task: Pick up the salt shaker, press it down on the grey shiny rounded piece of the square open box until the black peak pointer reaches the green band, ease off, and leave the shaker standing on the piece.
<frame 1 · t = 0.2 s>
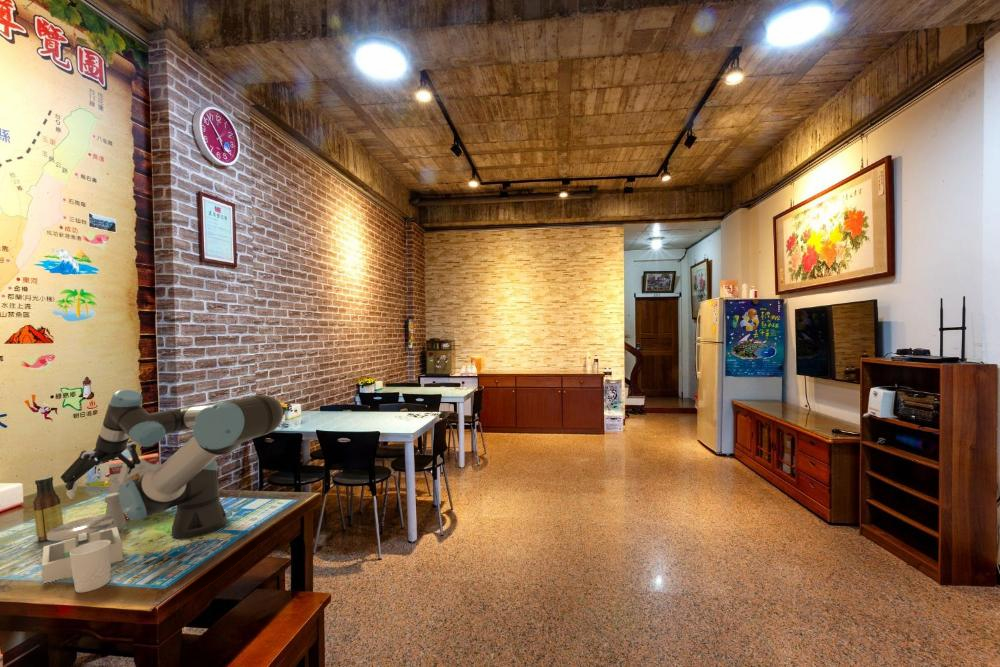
hand: (96, 488, 144), 16 cm above the table, tool tilted 30°, fingers open, 13 cm apart
cracker box: (137, 515, 161), on the table
sauce bottle: (50, 538, 146), on the table
square open box: (83, 561, 128), on the table
salt shaker: (115, 533, 146), on the table
white cup: (93, 585, 115), on the table
peak pointer: (82, 541, 121), point 9 cm above the table, slide at 0.0 cm
grey shiny rounded piece: (82, 537, 127), point 8 cm above the table, slide at 0.0 cm
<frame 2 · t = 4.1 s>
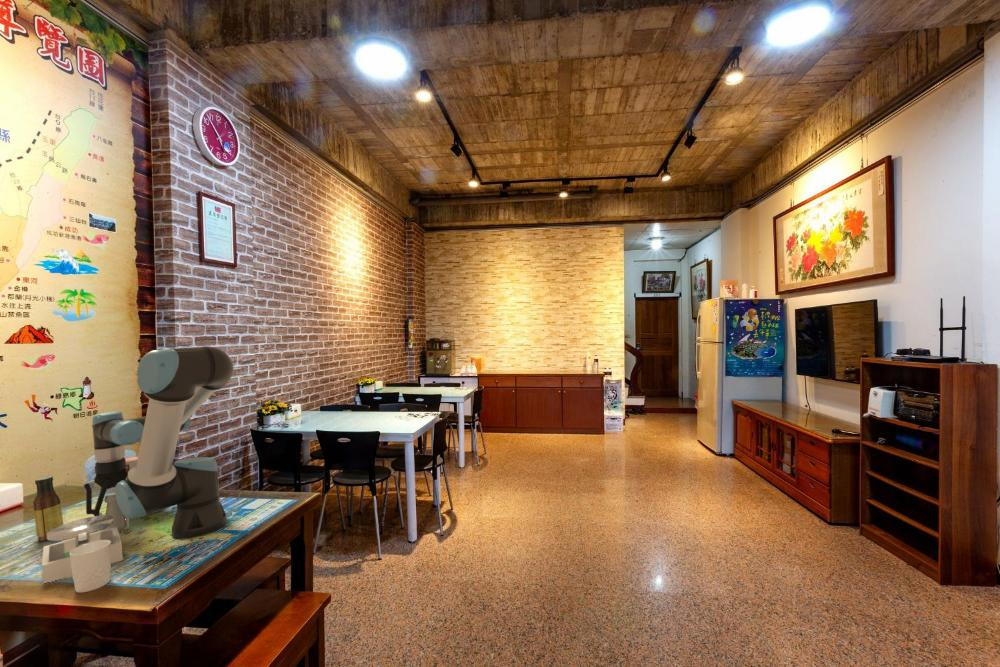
hand: (115, 528, 146), 1 cm above the table, tool pointing down, fingers closed on salt shaker, 6 cm apart
salt shaker: (115, 533, 146), on the table, touching gripper
everything else where it was.
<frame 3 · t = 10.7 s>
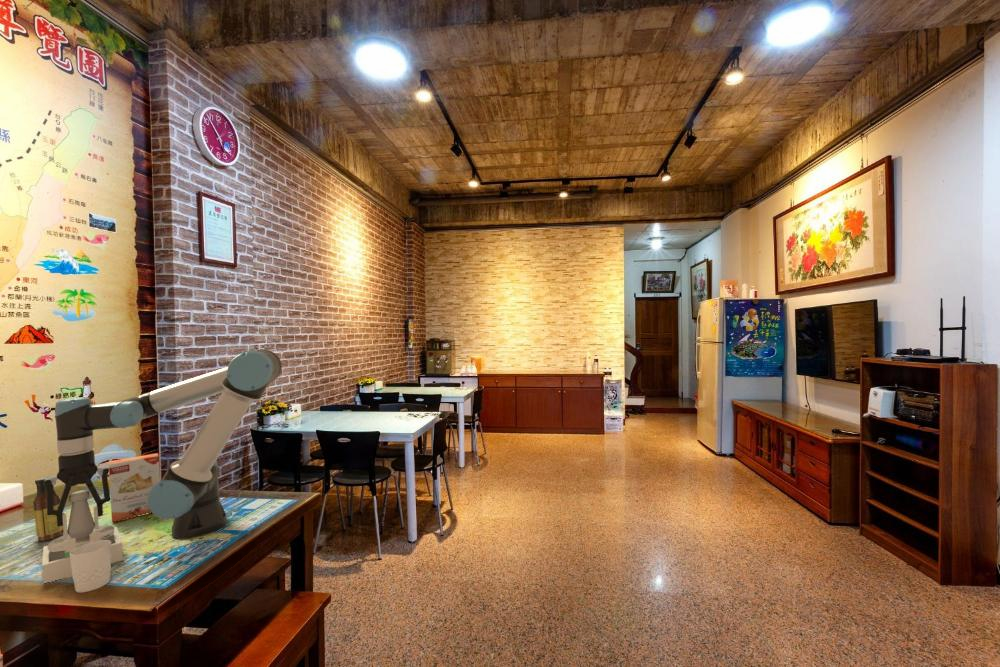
hand: (81, 531, 128), 9 cm above the table, tool pointing down, fingers closed on salt shaker, 6 cm apart
salt shaker: (81, 537, 128), point 7 cm above the table, touching gripper, grey shiny rounded piece
peak pointer: (83, 551, 121), point 6 cm above the table, slide at 2.8 cm, touching grey shiny rounded piece
grey shiny rounded piece: (82, 548, 127), point 4 cm above the table, slide at 3.2 cm, touching peak pointer, salt shaker
everything else where it was.
when the fingers open (12 cm above the table, at t = 13.8 s): salt shaker drops 3 cm, resting on grey shiny rounded piece.
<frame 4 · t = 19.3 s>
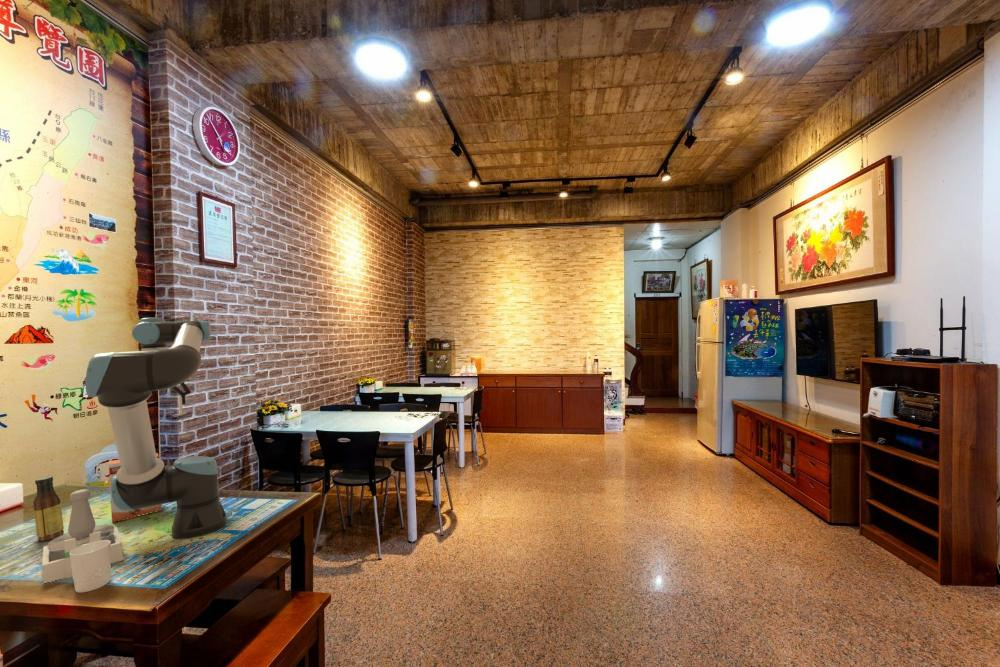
hand: (158, 416, 164), 35 cm above the table, tool pointing down, fingers open, 13 cm apart
salt shaker: (82, 536, 128), point 7 cm above the table, touching grey shiny rounded piece
peak pointer: (83, 552, 121), point 6 cm above the table, slide at 3.2 cm
grey shiny rounded piece: (82, 548, 127), point 5 cm above the table, slide at 2.9 cm, touching salt shaker
everything else where it was.
at the end: peak pointer slide at 3.2 cm; salt shaker 0.1 cm from the grey shiny rounded piece (horizontally); salt shaker tilted 0° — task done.
